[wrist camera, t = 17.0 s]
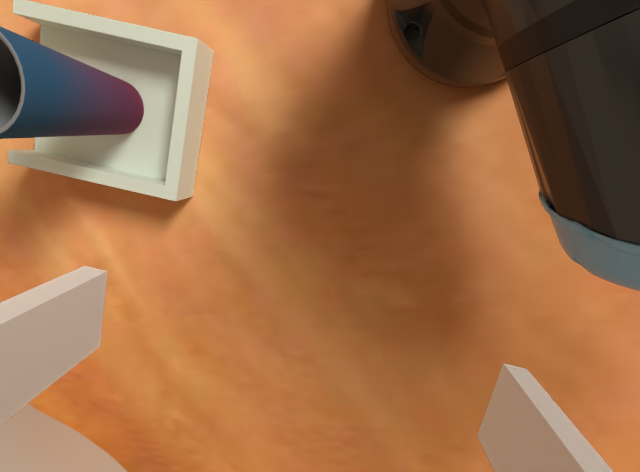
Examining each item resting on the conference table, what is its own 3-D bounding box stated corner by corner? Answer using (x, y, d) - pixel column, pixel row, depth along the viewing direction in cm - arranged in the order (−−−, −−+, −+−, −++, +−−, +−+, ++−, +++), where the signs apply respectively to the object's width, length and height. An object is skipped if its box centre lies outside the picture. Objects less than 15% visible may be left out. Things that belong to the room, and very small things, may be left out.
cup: (87, 61, 36) (-92, 0, 21) (157, 78, 36) (27, 27, 21) (81, 135, 37) (-89, 125, 23) (148, 150, 37) (22, 150, 23)
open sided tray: (49, 14, 36) (13, -3, 32) (213, 50, 36) (197, 38, 32) (41, 161, 39) (7, 162, 35) (192, 196, 39) (175, 201, 35)
